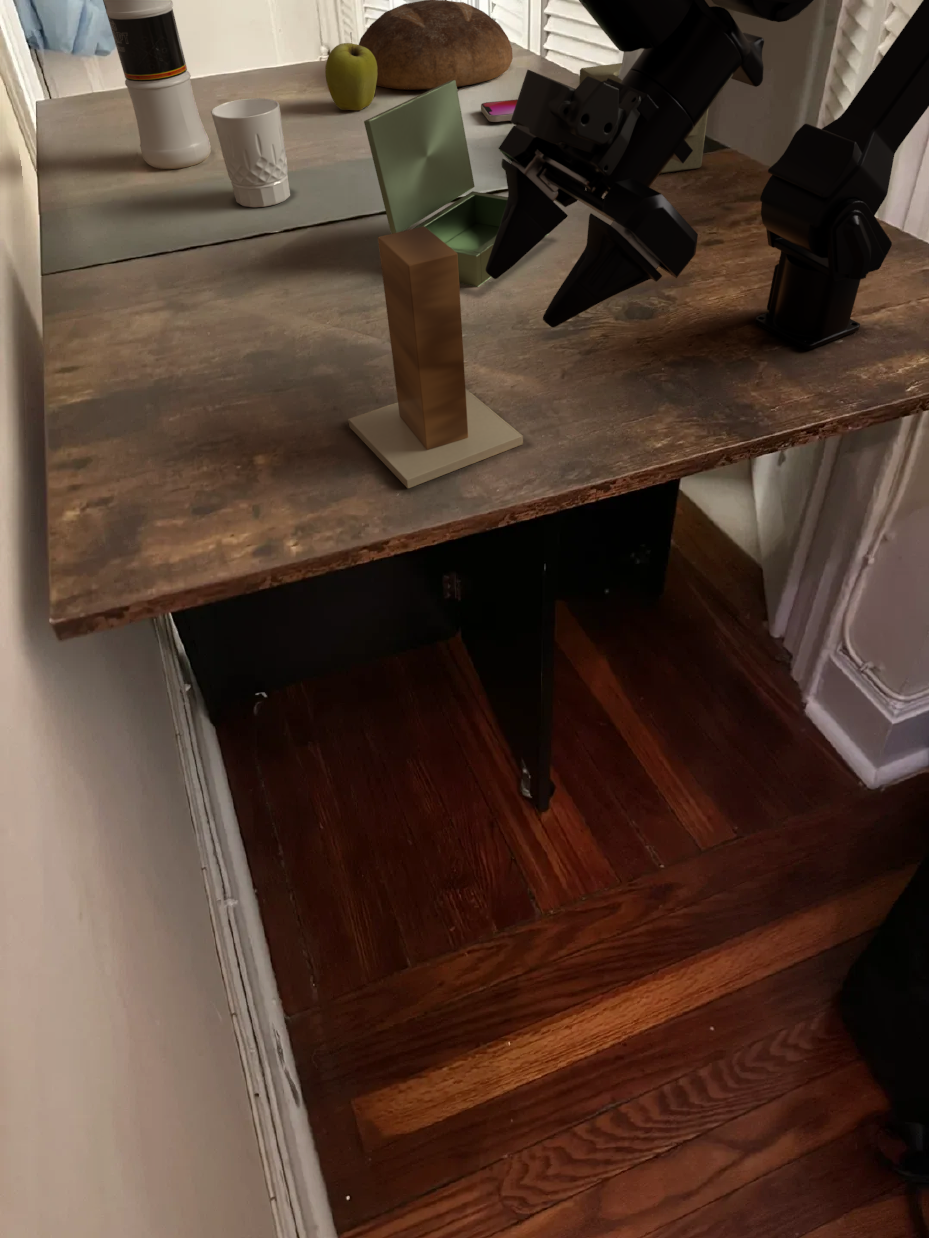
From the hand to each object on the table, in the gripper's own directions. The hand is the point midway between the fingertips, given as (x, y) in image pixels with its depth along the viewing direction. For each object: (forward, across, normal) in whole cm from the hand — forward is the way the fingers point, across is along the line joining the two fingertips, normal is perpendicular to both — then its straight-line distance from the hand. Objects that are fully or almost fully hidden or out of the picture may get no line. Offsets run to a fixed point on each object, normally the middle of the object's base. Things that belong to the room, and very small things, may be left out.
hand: (517, 298), depth 64 cm
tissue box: (-22, -48, +36) cm, 65 cm away
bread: (-18, -101, +32) cm, 108 cm away
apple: (-6, -90, +19) cm, 92 cm away
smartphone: (-21, -71, +34) cm, 82 cm away
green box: (0, -29, +13) cm, 32 cm away
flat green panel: (-5, -33, +5) cm, 34 cm away
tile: (+12, 0, +1) cm, 12 cm away
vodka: (+15, -81, -2) cm, 82 cm away
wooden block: (+11, 0, +1) cm, 11 cm away
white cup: (+10, -60, +3) cm, 61 cm away
